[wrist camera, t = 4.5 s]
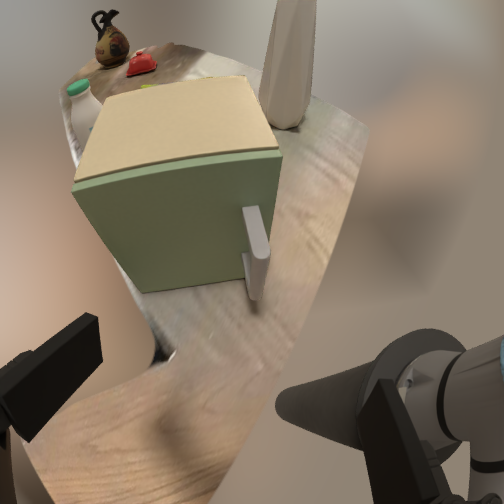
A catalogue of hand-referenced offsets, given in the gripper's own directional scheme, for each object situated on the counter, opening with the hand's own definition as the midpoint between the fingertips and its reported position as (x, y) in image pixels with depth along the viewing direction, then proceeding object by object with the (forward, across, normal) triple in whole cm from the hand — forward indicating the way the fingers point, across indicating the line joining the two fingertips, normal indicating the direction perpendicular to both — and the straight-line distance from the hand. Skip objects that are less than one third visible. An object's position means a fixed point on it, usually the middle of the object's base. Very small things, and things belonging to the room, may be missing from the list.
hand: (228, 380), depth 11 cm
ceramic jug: (+88, -81, +54) cm, 131 cm away
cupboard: (+32, -12, -1) cm, 35 cm away
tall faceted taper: (+58, -3, +24) cm, 62 cm away
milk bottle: (+44, -40, +9) cm, 60 cm away
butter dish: (+80, -58, +46) cm, 109 cm away
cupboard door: (+25, -7, -9) cm, 27 cm away
